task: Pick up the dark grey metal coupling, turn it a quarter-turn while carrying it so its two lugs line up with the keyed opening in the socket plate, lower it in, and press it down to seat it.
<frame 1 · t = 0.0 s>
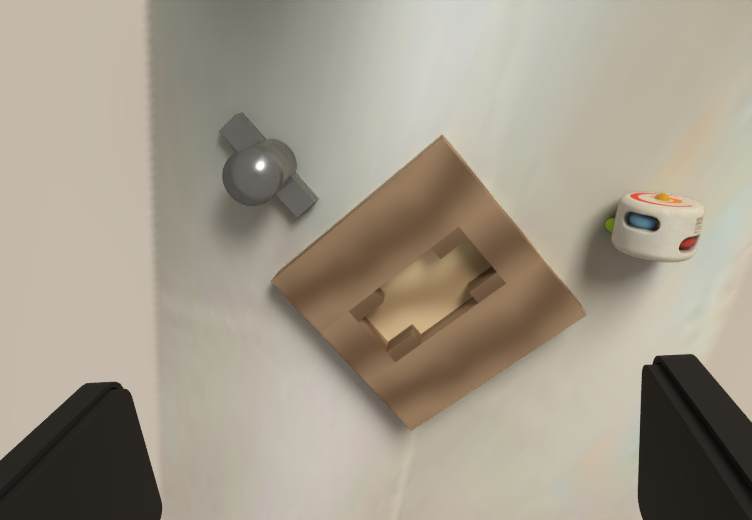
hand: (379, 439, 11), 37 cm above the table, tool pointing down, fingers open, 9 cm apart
socket plate: (426, 286, 49), on the table
roller toy: (643, 215, 46), on the table
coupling: (272, 164, 47), on the table
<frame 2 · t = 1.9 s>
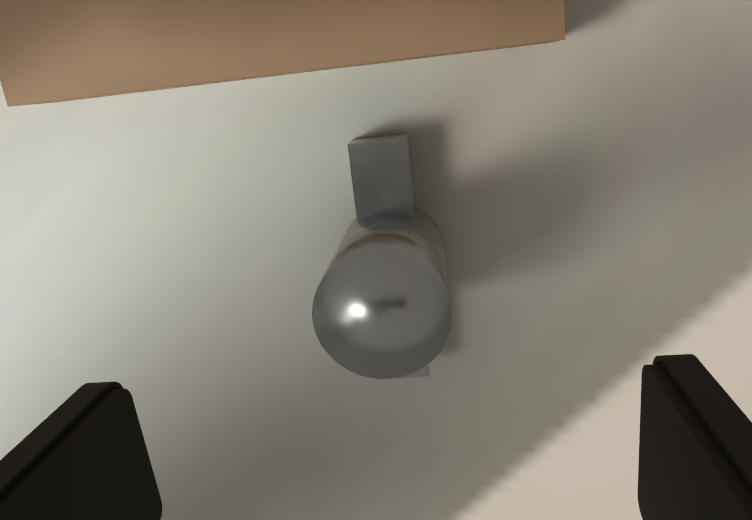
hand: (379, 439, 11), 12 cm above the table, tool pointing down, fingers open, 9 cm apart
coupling: (393, 254, 22), on the table
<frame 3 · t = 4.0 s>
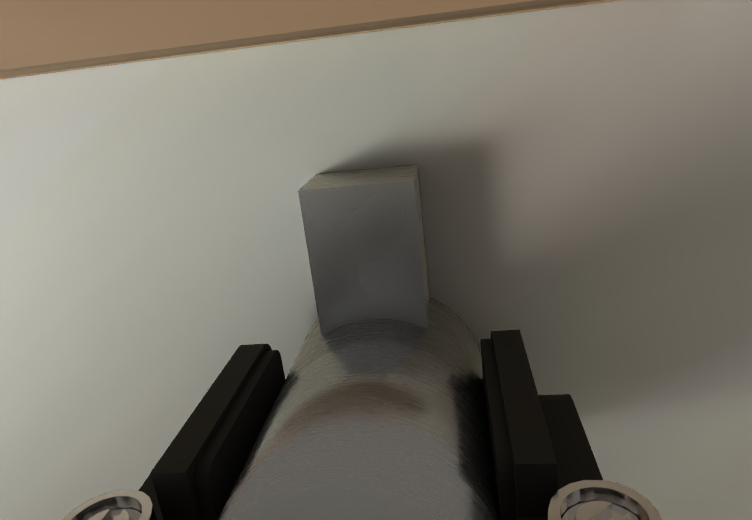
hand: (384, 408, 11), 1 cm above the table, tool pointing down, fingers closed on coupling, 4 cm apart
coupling: (390, 373, 13), on the table, touching gripper
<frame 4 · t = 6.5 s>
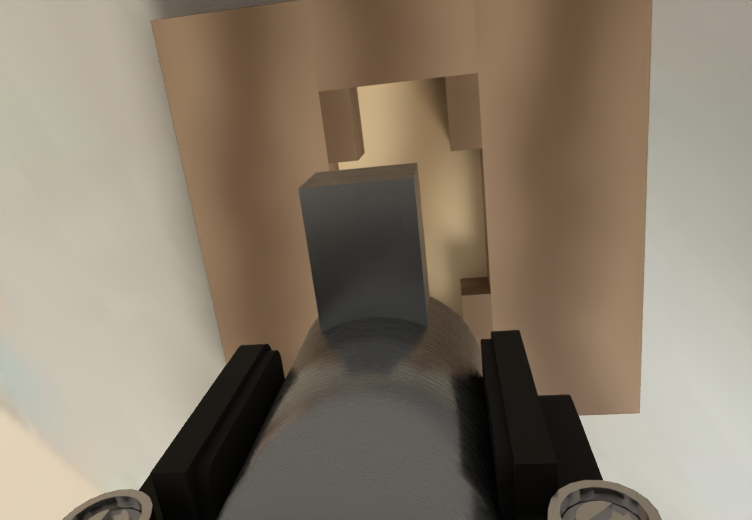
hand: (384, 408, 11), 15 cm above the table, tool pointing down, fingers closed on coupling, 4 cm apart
socket plate: (414, 214, 26), on the table
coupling: (390, 371, 13), point 14 cm above the table, touching gripper
when the fingers open (4 cm above the table, at t = 9.2 s): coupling drops 2 cm, resting on socket plate.
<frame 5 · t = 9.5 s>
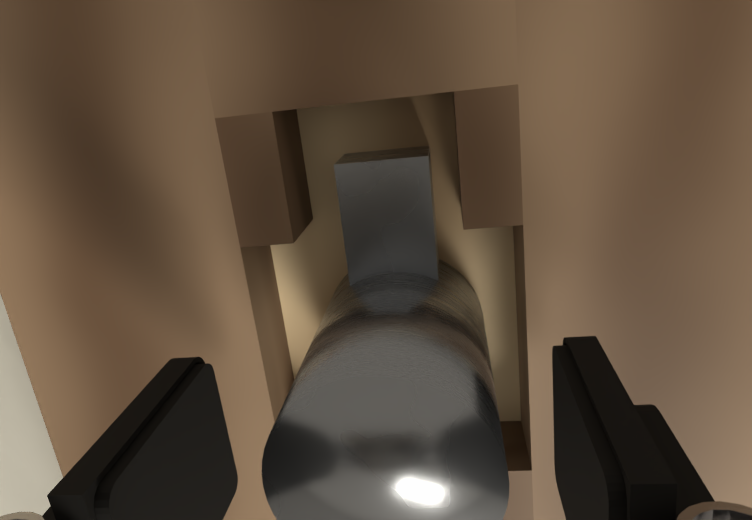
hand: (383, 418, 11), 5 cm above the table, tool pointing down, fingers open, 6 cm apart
socket plate: (399, 317, 16), on the table
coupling: (405, 324, 15), resting on socket plate
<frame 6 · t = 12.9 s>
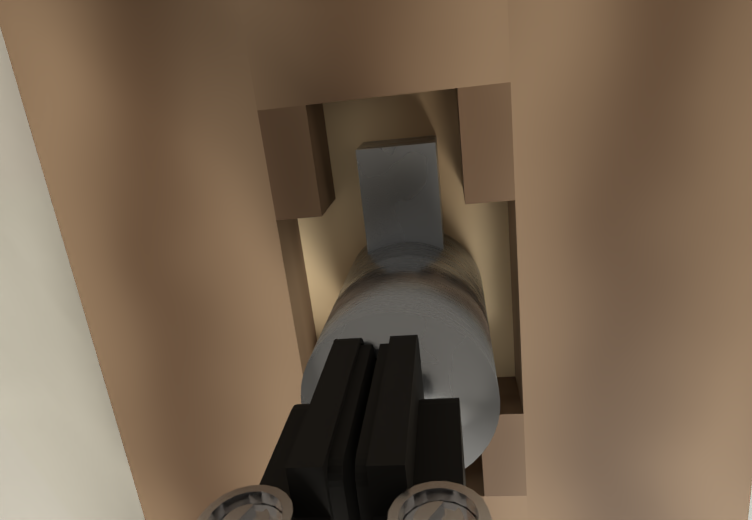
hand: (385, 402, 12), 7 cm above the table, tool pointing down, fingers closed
socket plate: (409, 285, 18), on the table
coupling: (414, 291, 17), point 1 cm above the table, touching gripper, socket plate
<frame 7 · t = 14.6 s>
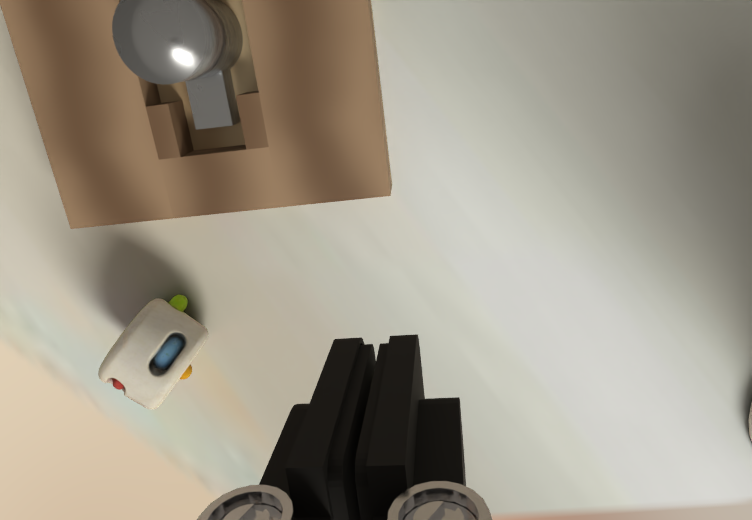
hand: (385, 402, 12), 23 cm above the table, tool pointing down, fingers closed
socket plate: (205, 37, 31), on the table
roller toy: (175, 329, 38), on the table
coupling: (205, 36, 31), resting on socket plate
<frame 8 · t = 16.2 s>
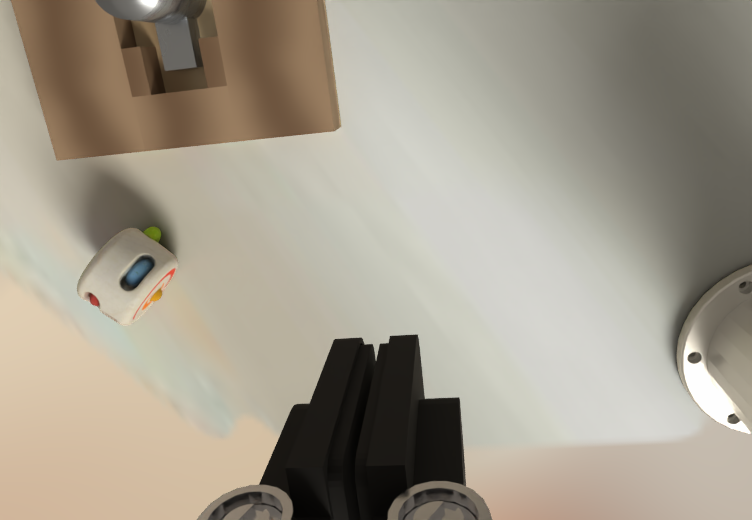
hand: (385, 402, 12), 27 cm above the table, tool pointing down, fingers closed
roller toy: (151, 261, 42), on the table
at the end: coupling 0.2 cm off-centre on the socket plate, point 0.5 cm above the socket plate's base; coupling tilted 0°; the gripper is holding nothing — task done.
